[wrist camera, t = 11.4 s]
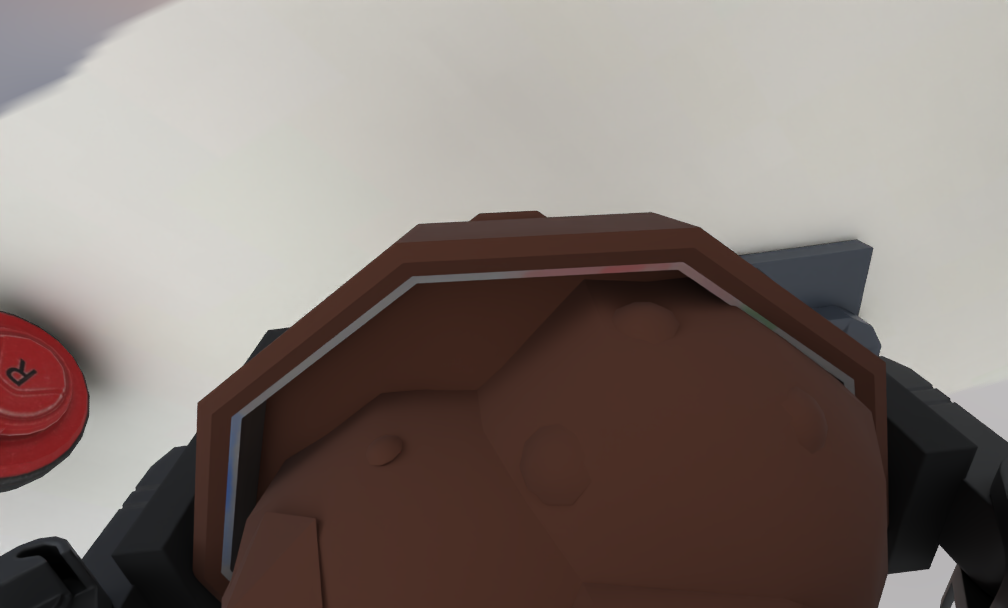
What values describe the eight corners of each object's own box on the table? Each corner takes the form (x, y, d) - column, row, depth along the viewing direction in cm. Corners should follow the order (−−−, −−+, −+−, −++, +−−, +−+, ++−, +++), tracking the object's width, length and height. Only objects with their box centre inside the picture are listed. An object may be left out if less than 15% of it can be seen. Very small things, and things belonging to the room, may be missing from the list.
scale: (866, 237, 31) (904, 256, 28) (829, 410, 37) (857, 439, 34) (573, 277, 31) (583, 300, 28) (583, 444, 37) (592, 475, 34)
